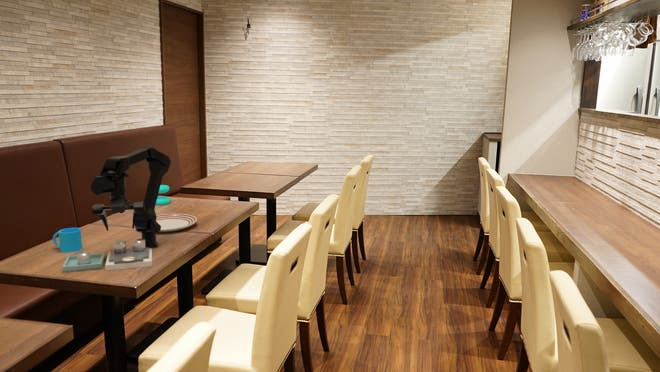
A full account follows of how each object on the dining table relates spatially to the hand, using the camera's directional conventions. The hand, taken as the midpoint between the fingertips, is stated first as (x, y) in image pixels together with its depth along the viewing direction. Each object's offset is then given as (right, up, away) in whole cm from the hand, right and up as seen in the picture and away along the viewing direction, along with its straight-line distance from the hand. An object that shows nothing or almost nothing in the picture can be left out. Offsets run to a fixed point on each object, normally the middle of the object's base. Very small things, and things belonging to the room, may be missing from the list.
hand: (120, 229), depth 207 cm
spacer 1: (-10, -12, -8) cm, 18 cm away
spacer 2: (0, -9, -1) cm, 9 cm away
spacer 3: (+7, -8, +1) cm, 11 cm away
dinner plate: (+4, -3, +46) cm, 46 cm away
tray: (-10, -13, -7) cm, 18 cm away
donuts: (-14, +7, +95) cm, 96 cm away
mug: (-26, -9, +11) cm, 30 cm away
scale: (+5, -12, -3) cm, 13 cm away
